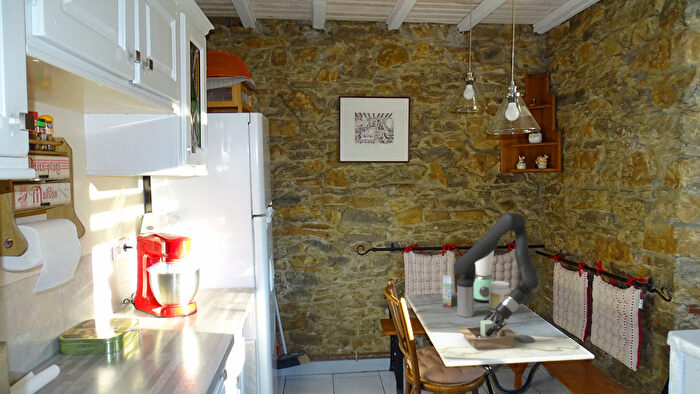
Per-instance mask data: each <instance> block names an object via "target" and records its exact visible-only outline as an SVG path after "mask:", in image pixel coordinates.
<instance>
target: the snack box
mask: <svg viewBox="0 0 700 394" xmlns="http://www.w3.org/2000/svg"><path fill="white" fill-rule="evenodd" d="M452 284H453V283H452V275H443V277H442V307H444V308H452V299H453V298H452V296H453V295H452V294H453V292H452V291H453V289H452V288H453V285H452Z"/></svg>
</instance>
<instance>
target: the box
mask: <svg viewBox="0 0 700 394" xmlns="http://www.w3.org/2000/svg"><path fill="white" fill-rule="evenodd" d="M492 323H493V322H492V321H491V320H487V319H486V320H484V319H483V320H480V325H479V326H480V337H479V338H492V337H496V336H495V331H494V332H493V333H492V334H491V335H490V336H487V335H486V332H487V331H488V330H489V329H490V328H491V327H492V325H493V324H492ZM494 327H495V326H494Z"/></svg>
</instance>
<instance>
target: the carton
mask: <svg viewBox="0 0 700 394" xmlns="http://www.w3.org/2000/svg"><path fill="white" fill-rule="evenodd" d="M457 330H458V331H459V332H460V333H461V334H462V335H463V337H465V338H466V341H467V342H468V343H469V344H471V345H472V346H473V348H474V349H476V350H477V351H478V350H492V349H505V348H506V349H507V348H513V340H514V339H513V338H514V337H520V336H518V335H519V334H518V333H516V332H514V331H513V330H512V329H510V328H509V327H508V326H506V325H505V326H504V327H503V328H502V329H501V330H500V331H498V332H497V331H495V335H497V336H495V337H492V338H480V337H478V336H480V325H478V326H469V327H468V326H466V327H457Z"/></svg>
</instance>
